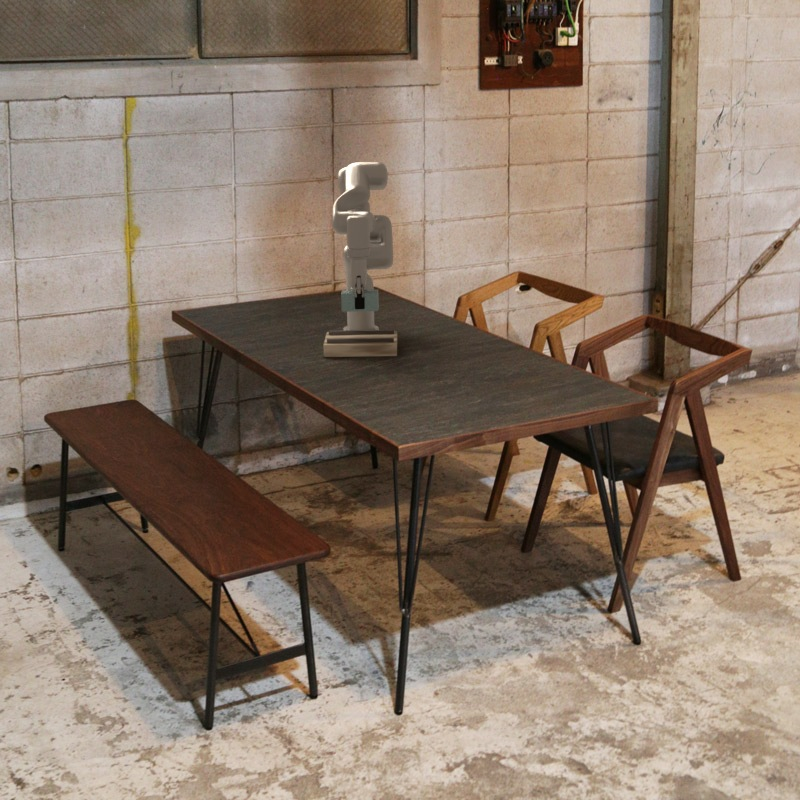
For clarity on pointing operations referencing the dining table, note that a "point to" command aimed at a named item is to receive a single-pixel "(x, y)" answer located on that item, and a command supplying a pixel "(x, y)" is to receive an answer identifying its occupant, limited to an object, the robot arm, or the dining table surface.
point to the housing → (349, 300)
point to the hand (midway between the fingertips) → (360, 306)
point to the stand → (360, 343)
